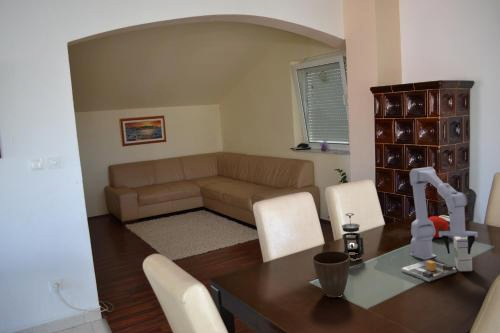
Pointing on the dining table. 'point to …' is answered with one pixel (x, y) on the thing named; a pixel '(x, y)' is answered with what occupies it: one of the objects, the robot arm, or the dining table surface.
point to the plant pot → (332, 271)
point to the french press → (352, 246)
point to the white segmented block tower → (462, 254)
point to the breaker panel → (416, 266)
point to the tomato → (439, 225)
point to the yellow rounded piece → (430, 265)
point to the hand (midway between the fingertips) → (458, 253)
